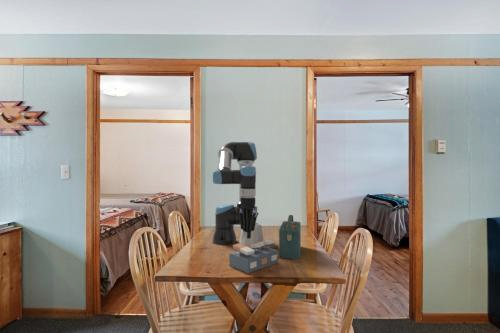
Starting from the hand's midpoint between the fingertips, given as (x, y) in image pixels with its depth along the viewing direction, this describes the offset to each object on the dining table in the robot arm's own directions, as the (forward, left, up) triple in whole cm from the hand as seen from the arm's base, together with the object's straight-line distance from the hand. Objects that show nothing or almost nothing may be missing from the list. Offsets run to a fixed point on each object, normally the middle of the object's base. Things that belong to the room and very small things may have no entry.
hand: (247, 244), depth 134 cm
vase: (-11, +14, -9) cm, 20 cm away
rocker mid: (+5, 0, -1) cm, 5 cm away
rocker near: (+5, -7, -1) cm, 8 cm away
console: (+5, 0, -9) cm, 10 cm away
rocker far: (+5, +7, -1) cm, 9 cm away
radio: (+5, +29, -9) cm, 31 cm away
